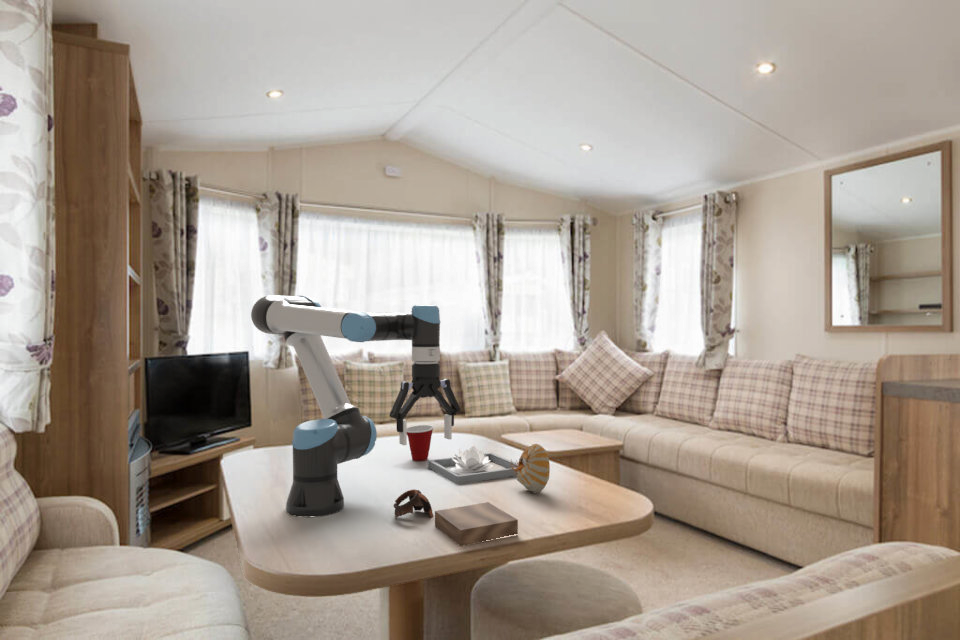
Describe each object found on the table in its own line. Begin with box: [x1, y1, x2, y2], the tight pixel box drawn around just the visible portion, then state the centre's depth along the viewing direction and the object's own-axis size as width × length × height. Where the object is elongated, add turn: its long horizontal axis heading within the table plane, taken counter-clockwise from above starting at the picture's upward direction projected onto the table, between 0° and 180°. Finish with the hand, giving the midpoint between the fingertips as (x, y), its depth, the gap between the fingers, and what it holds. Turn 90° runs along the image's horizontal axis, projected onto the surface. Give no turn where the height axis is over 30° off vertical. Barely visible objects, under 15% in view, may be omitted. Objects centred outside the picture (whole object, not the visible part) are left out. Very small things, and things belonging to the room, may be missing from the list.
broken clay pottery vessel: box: [393, 489, 434, 519], centre depth 155 cm, size 12×9×8 cm
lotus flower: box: [449, 445, 494, 475], centre depth 201 cm, size 14×15×9 cm
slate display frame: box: [427, 452, 519, 485], centre depth 202 cm, size 25×24×2 cm
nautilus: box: [510, 443, 551, 494], centre depth 179 cm, size 8×22×15 cm, turn 24°
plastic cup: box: [407, 424, 435, 462], centre depth 219 cm, size 11×11×12 cm
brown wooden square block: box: [434, 501, 519, 547], centre depth 143 cm, size 15×15×5 cm
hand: (426, 441), depth 158 cm, fingers open, 13 cm apart
